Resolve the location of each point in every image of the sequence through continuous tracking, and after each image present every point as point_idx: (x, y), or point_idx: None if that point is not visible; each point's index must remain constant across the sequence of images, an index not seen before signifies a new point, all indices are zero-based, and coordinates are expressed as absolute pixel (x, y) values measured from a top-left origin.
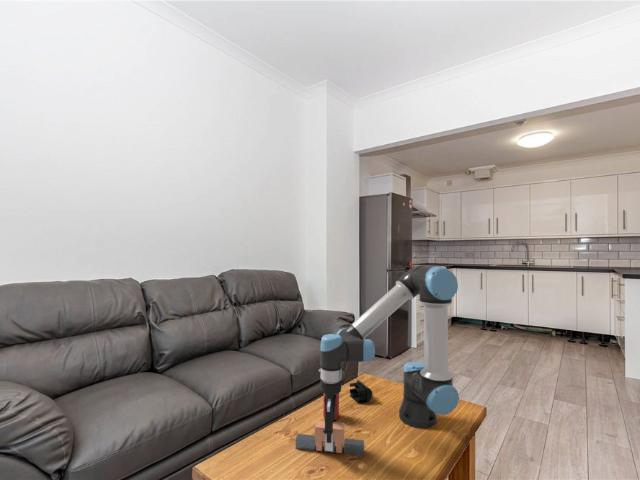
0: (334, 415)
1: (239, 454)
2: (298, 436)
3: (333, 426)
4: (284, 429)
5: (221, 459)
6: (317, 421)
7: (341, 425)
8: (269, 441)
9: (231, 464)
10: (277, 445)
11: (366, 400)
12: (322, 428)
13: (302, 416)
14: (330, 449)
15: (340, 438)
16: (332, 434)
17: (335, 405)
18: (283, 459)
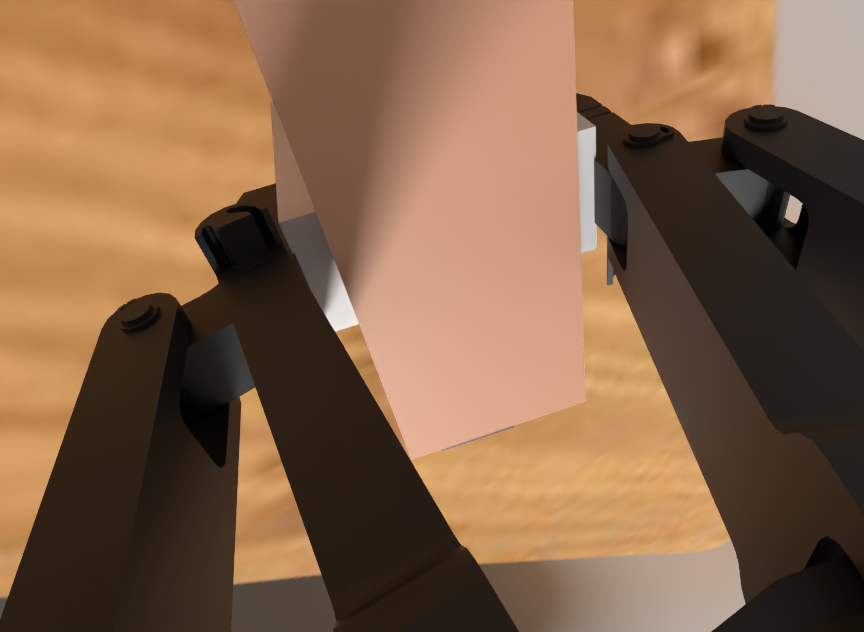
0: (275, 331)
1: (616, 525)
2: None
3: (497, 187)
4: (296, 525)
5: (661, 543)
6: (437, 443)
7: (394, 32)
8: (467, 506)
9: (690, 503)
10: (490, 459)
11: None
12: (578, 315)
13: (17, 548)
14: None
15: None
16: (581, 122)
17: (489, 589)
18: (621, 362)
